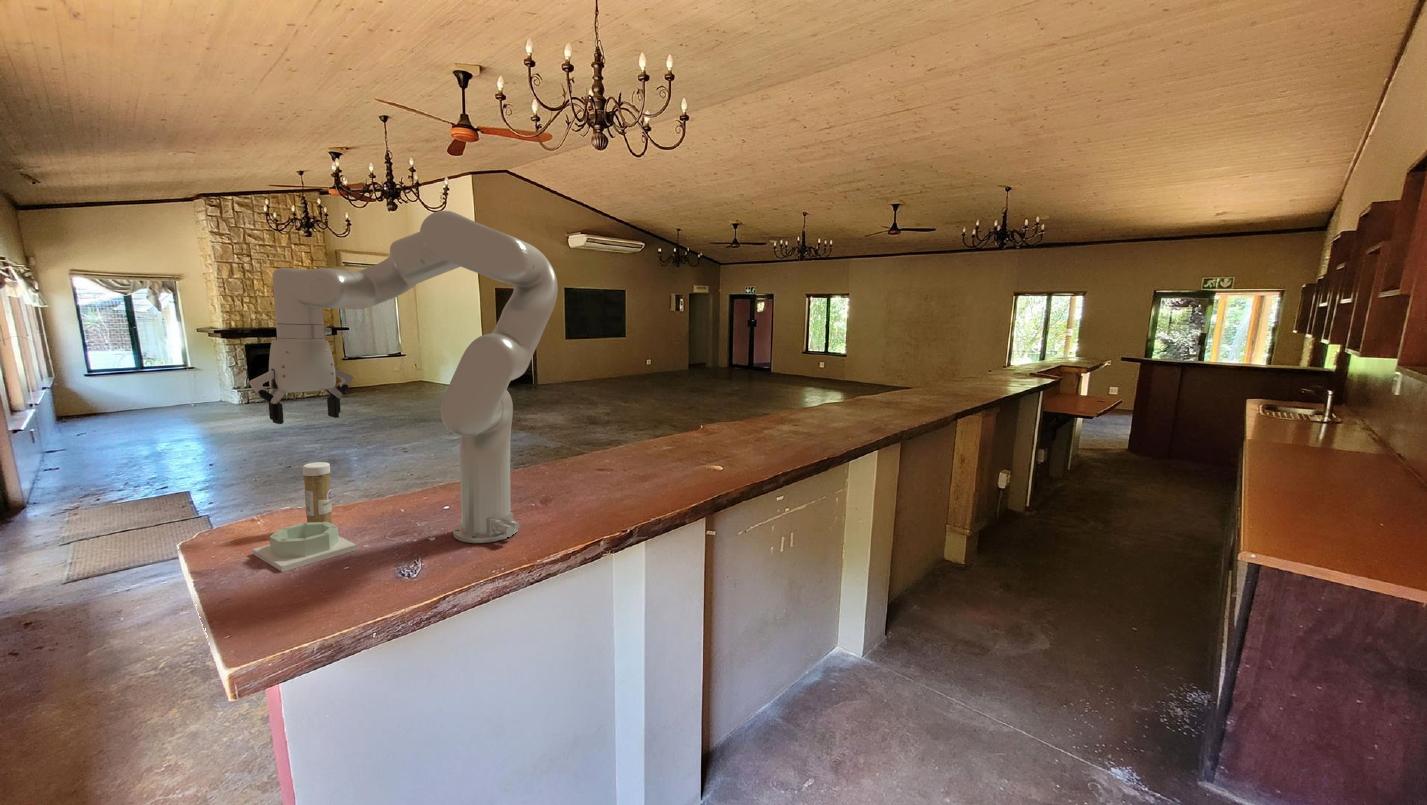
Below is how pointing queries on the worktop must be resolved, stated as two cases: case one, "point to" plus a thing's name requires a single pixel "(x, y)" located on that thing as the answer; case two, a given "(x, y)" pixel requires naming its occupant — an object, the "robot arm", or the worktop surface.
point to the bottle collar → (303, 545)
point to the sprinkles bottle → (317, 492)
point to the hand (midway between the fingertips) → (306, 419)
